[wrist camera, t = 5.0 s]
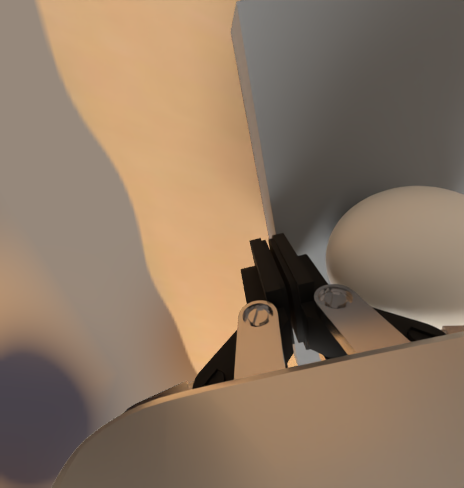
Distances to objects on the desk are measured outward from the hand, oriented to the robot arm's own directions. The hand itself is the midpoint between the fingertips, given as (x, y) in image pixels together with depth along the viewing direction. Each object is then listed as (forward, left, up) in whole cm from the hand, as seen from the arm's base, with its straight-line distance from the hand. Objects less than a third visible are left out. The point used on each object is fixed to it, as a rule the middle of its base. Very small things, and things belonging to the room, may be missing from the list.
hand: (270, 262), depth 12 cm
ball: (0, +5, +2) cm, 6 cm away
